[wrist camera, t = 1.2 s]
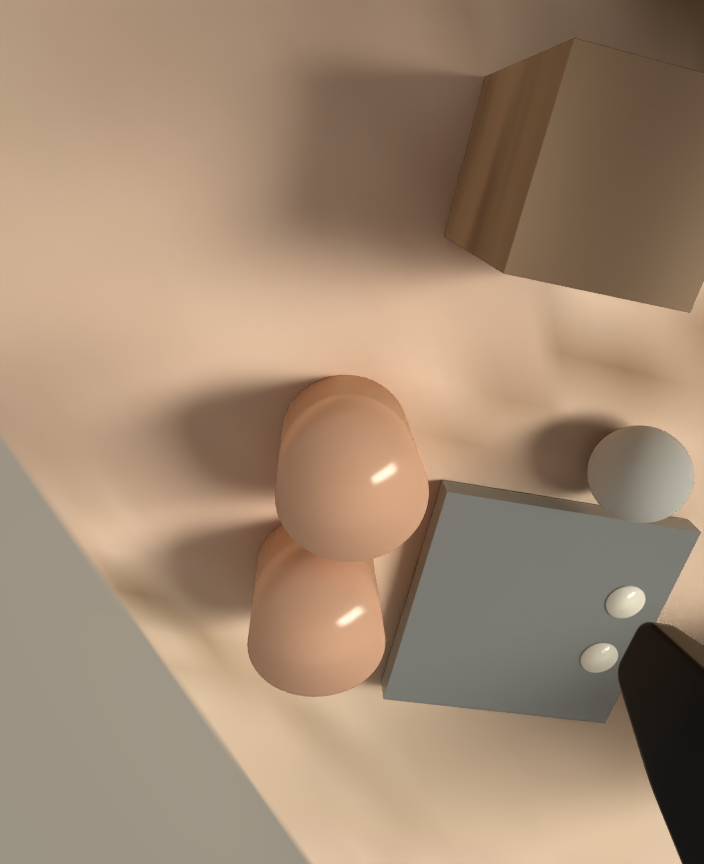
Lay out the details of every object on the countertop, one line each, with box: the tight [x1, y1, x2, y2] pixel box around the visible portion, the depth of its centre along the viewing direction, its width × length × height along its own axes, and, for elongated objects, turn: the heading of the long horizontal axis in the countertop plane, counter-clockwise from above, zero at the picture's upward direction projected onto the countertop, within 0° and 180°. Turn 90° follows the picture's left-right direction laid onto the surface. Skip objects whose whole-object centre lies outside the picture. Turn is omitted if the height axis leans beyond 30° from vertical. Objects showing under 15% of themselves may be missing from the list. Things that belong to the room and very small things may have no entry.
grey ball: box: [587, 426, 694, 523], centre depth 19 cm, size 3×3×3 cm
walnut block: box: [444, 38, 704, 313], centre depth 14 cm, size 4×4×6 cm
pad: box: [381, 480, 701, 723], centre depth 23 cm, size 9×9×1 cm
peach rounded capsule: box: [275, 375, 429, 562], centre depth 18 cm, size 4×4×4 cm
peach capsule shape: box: [247, 524, 385, 697], centre depth 20 cm, size 4×4×4 cm
